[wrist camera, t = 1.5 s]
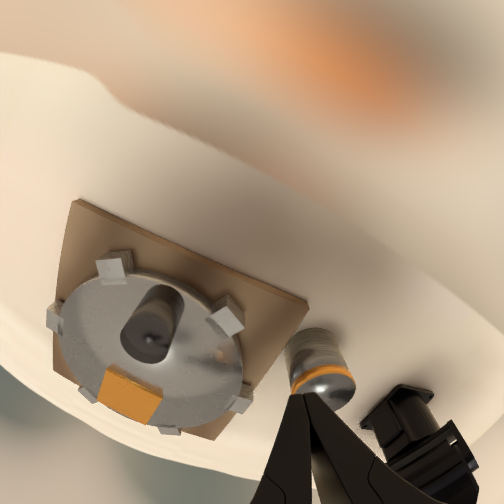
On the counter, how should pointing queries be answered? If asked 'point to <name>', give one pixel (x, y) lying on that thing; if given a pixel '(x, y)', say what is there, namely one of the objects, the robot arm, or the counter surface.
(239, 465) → the counter surface
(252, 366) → the sprocket base
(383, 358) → the counter surface
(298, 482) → the robot arm
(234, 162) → the counter surface
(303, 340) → the roller
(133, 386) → the sprocket
